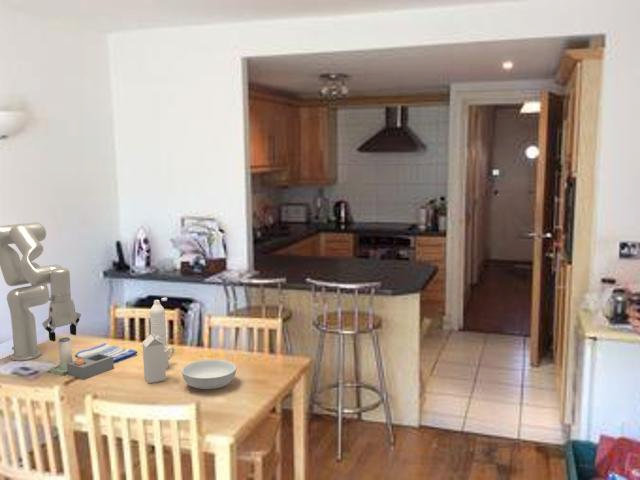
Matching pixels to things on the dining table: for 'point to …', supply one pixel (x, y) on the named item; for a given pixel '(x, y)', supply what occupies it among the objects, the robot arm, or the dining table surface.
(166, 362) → the mug
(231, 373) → the serving bowl
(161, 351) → the milk carton
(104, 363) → the housing
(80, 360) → the plunger
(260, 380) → the dining table surface
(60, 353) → the cylinder
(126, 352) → the dish towel
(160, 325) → the water bottle
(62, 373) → the tray
